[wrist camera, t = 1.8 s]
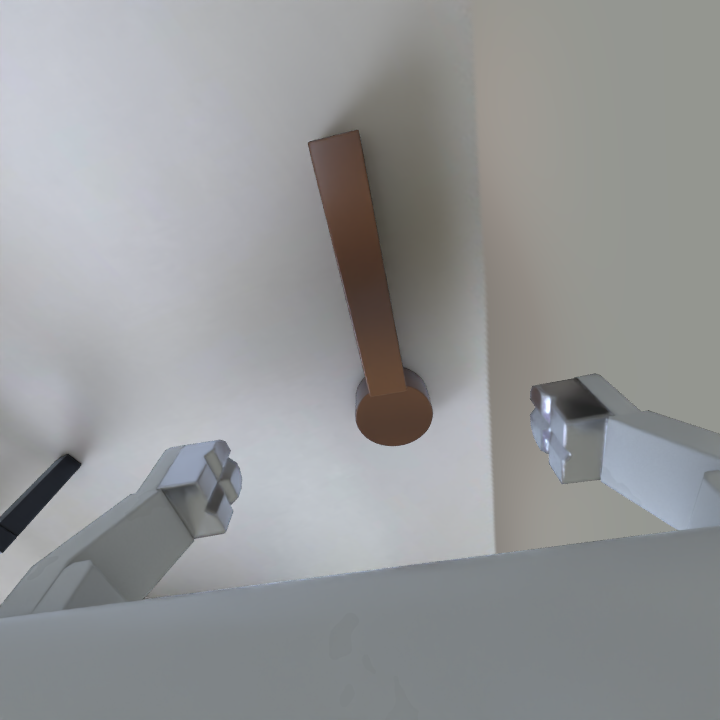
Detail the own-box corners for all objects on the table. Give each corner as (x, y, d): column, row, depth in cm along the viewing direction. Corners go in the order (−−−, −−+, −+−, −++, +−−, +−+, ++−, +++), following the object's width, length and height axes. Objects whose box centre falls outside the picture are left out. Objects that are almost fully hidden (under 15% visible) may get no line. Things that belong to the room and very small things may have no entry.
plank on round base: (288, 150, 16) (276, 149, 14) (386, 125, 16) (390, 120, 14) (364, 430, 24) (364, 458, 22) (431, 418, 24) (438, 446, 21)
